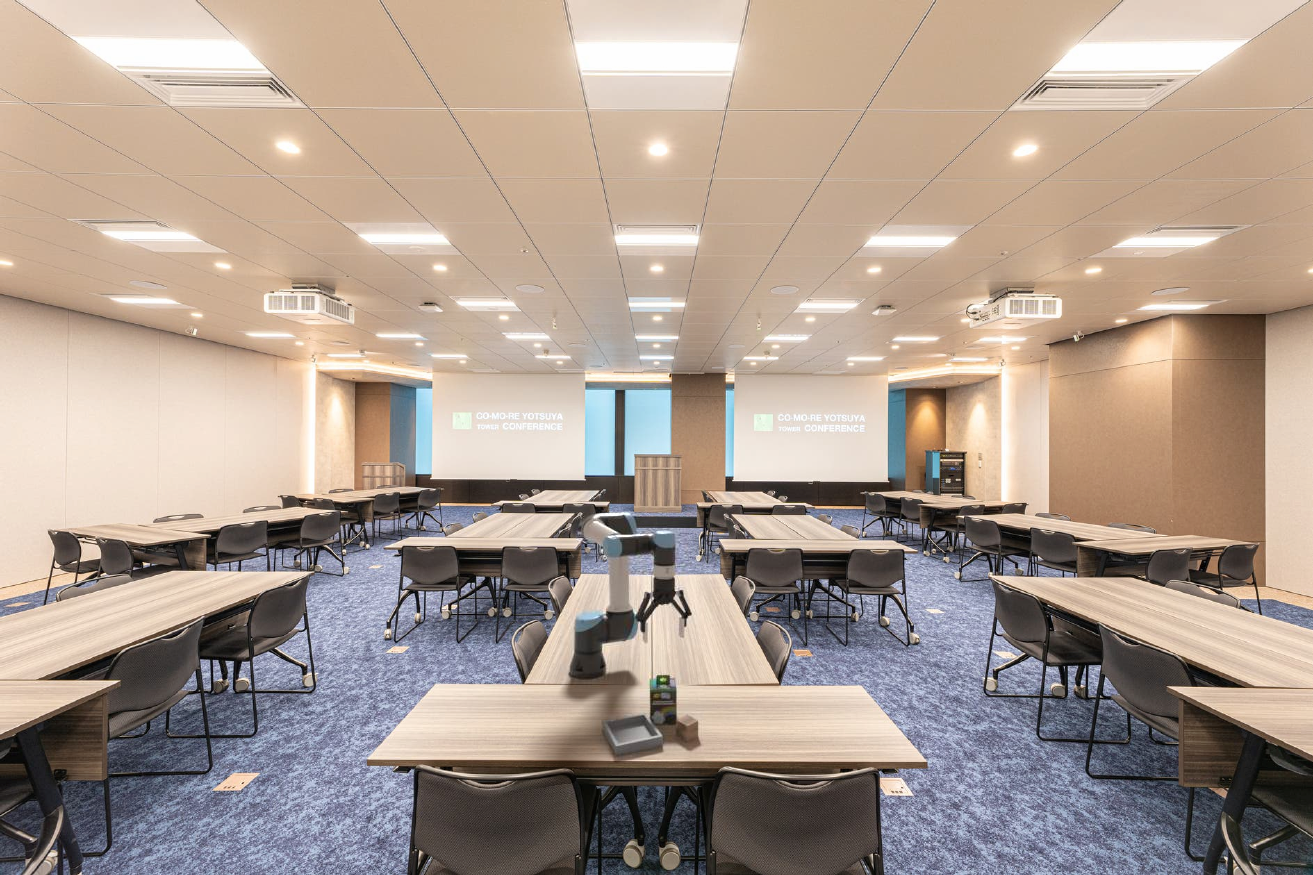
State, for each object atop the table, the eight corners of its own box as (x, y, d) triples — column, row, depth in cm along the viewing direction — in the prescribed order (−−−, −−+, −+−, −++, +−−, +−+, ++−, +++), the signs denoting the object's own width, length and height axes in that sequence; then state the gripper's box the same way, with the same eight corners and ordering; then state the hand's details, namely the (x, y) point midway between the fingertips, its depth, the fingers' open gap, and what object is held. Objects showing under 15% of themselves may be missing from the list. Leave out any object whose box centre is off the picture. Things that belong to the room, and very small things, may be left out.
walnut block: (675, 735, 158) (676, 719, 158) (686, 729, 161) (687, 714, 161) (687, 742, 154) (687, 726, 154) (698, 736, 157) (698, 720, 157)
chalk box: (675, 710, 173) (675, 667, 174) (677, 724, 164) (677, 679, 165) (649, 710, 173) (649, 667, 173) (649, 724, 164) (650, 679, 164)
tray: (602, 730, 160) (602, 720, 160) (645, 721, 165) (645, 712, 166) (615, 756, 146) (616, 746, 146) (662, 746, 152) (662, 736, 152)
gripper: (633, 582, 162) (632, 647, 161) (701, 576, 171) (701, 638, 171) (626, 577, 169) (625, 639, 168) (692, 571, 178) (691, 631, 178)
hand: (663, 639), depth 169 cm, fingers open, 13 cm apart
